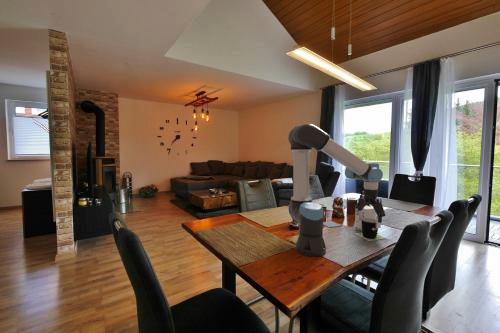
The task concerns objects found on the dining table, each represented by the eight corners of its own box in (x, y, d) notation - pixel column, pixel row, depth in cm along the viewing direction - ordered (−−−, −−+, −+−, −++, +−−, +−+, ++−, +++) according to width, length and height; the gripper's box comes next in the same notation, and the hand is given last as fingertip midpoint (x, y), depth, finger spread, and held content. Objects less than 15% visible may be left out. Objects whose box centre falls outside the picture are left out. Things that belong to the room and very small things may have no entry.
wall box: (364, 231, 150) (365, 209, 149) (354, 226, 158) (355, 206, 157) (375, 229, 152) (376, 208, 151) (365, 225, 161) (365, 205, 160)
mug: (371, 240, 132) (372, 223, 131) (357, 235, 140) (358, 219, 139) (384, 237, 138) (385, 220, 137) (370, 232, 146) (371, 216, 145)
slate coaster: (328, 227, 157) (328, 226, 157) (320, 223, 166) (320, 222, 166) (341, 226, 160) (341, 225, 159) (332, 221, 169) (332, 221, 169)
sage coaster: (368, 241, 133) (368, 240, 133) (353, 234, 144) (353, 233, 144) (385, 238, 136) (385, 238, 136) (369, 232, 148) (369, 231, 148)
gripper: (394, 192, 128) (392, 230, 129) (360, 185, 151) (358, 218, 153) (383, 192, 125) (381, 231, 127) (350, 185, 149) (349, 218, 151)
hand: (368, 224), depth 140 cm, fingers open, 13 cm apart
